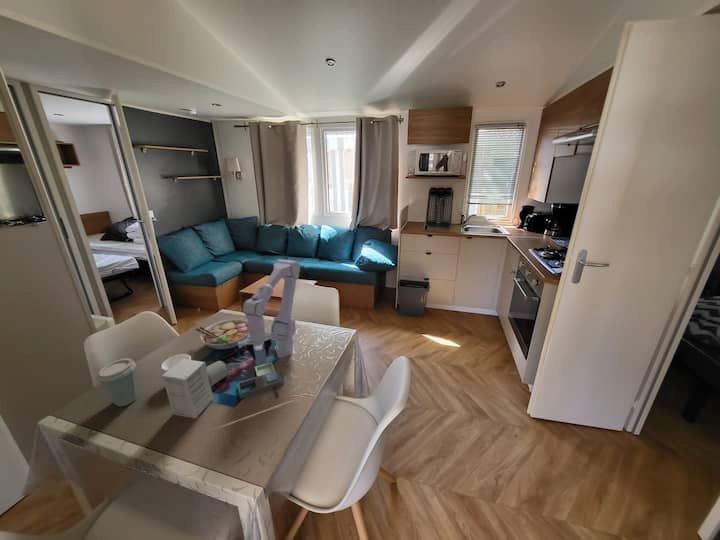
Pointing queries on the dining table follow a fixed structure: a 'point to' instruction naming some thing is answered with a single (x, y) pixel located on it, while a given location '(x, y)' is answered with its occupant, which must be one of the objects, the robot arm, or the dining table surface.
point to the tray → (264, 369)
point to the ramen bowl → (225, 333)
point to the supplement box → (188, 388)
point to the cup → (173, 361)
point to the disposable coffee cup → (120, 381)
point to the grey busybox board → (262, 384)
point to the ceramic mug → (216, 372)
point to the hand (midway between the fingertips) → (260, 357)
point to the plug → (260, 354)
